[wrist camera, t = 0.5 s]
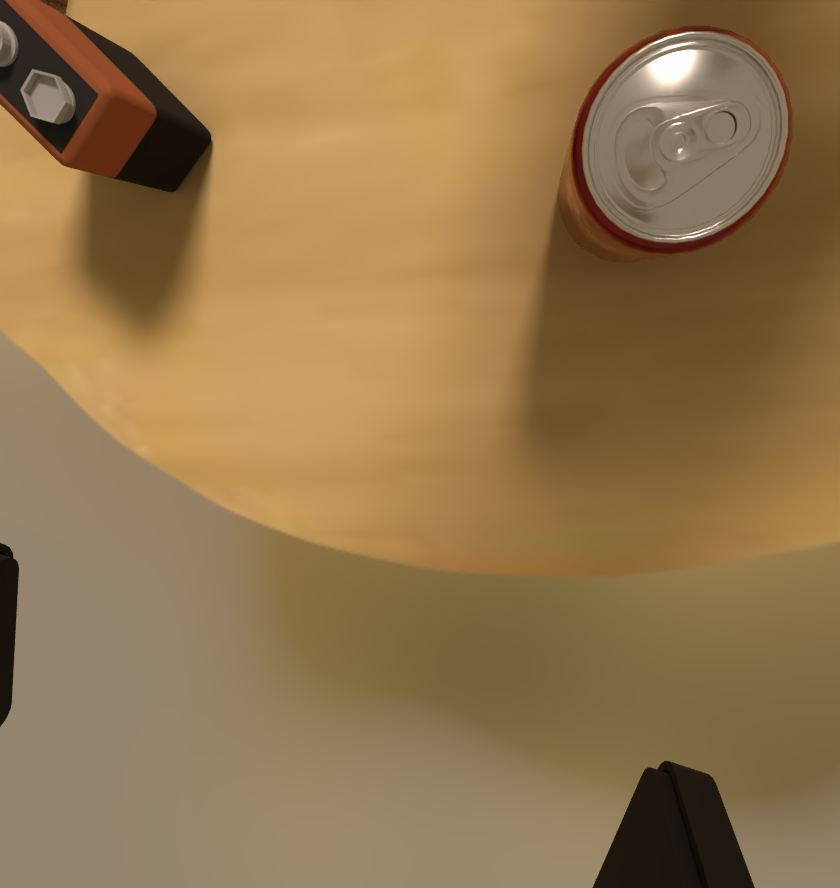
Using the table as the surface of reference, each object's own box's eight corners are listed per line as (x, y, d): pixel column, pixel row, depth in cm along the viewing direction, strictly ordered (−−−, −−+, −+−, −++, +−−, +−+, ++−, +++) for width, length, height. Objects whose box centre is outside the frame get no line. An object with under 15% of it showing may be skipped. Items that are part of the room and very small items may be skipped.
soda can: (570, 277, 34) (590, 275, 22) (546, 137, 32) (554, 58, 21) (711, 244, 32) (810, 223, 21) (693, 95, 30) (789, -17, 19)
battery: (175, 197, 36) (48, 167, 27) (91, 113, 36) (-68, 52, 26) (218, 137, 35) (100, 84, 25) (131, 49, 35) (-22, -39, 25)
